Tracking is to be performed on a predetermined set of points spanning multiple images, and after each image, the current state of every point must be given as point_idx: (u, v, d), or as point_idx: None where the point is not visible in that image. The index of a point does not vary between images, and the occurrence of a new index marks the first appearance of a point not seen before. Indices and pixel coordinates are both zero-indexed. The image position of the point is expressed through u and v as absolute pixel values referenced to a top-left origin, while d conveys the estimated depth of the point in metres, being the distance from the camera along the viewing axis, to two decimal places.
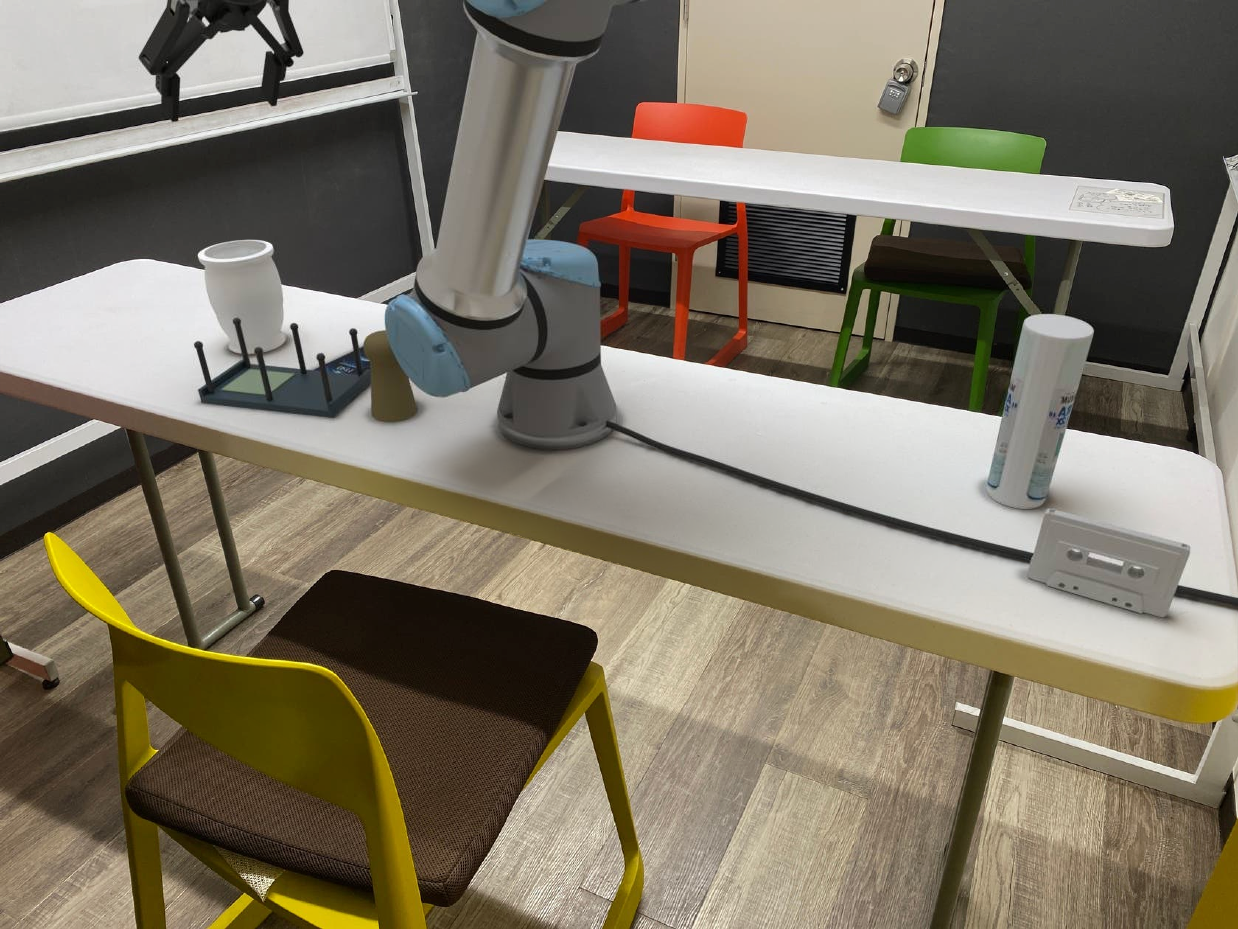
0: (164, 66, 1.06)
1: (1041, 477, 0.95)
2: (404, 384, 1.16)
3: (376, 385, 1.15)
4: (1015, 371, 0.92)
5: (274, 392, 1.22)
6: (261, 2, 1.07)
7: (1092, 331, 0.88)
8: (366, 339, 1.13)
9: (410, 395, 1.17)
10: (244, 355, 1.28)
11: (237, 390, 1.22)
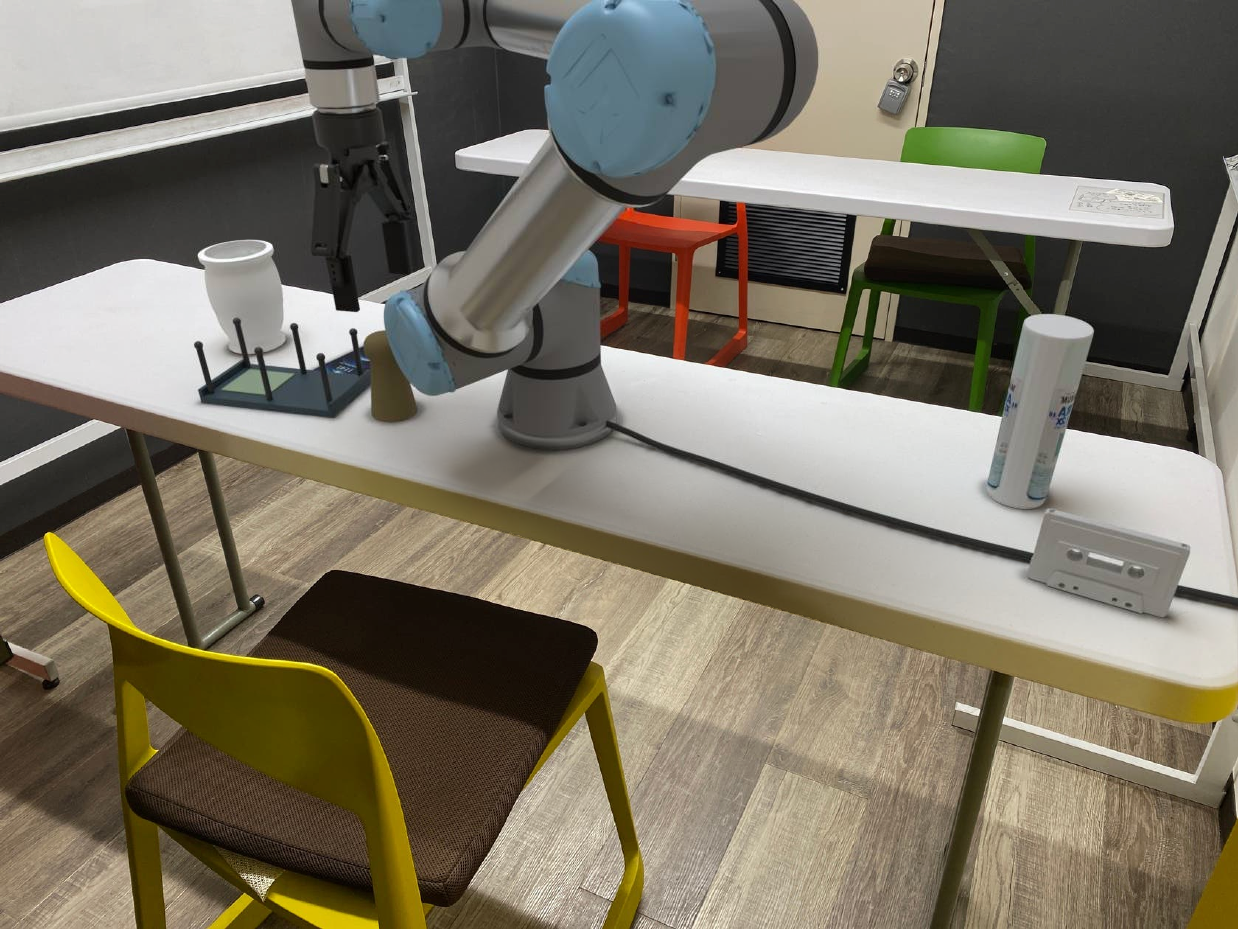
0: None
1: (1041, 477, 0.95)
2: (404, 384, 1.16)
3: (376, 385, 1.15)
4: (1015, 371, 0.92)
5: (274, 392, 1.22)
6: (376, 153, 1.05)
7: (1092, 331, 0.88)
8: (366, 339, 1.13)
9: (410, 395, 1.17)
10: (244, 355, 1.28)
11: (237, 390, 1.22)
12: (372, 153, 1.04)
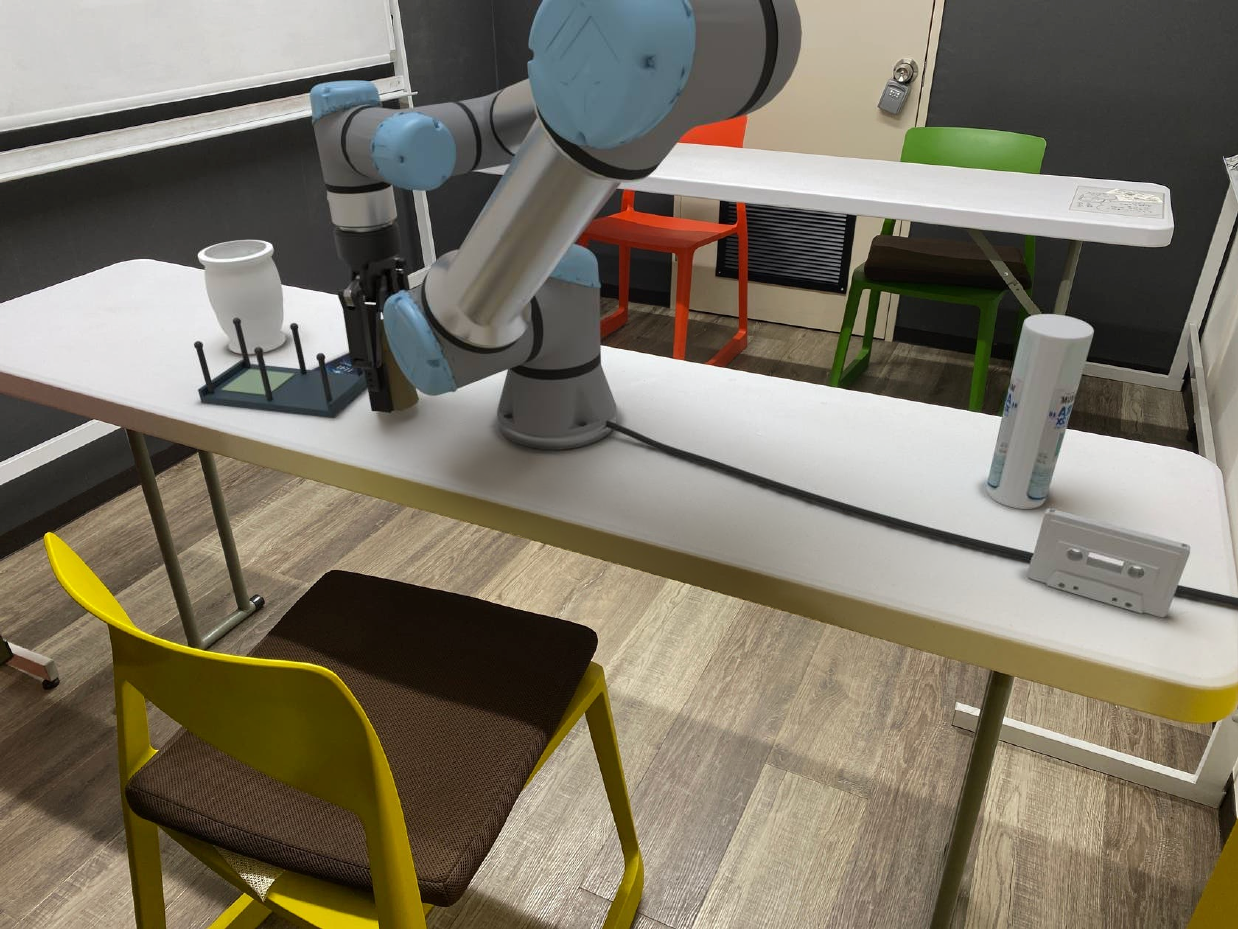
0: (372, 360, 1.10)
1: (1041, 477, 0.95)
2: None
3: None
4: (1015, 371, 0.92)
5: (274, 392, 1.22)
6: (393, 261, 1.11)
7: (1092, 331, 0.88)
8: None
9: (411, 384, 1.16)
10: (244, 355, 1.28)
11: (237, 390, 1.22)
12: (389, 261, 1.11)
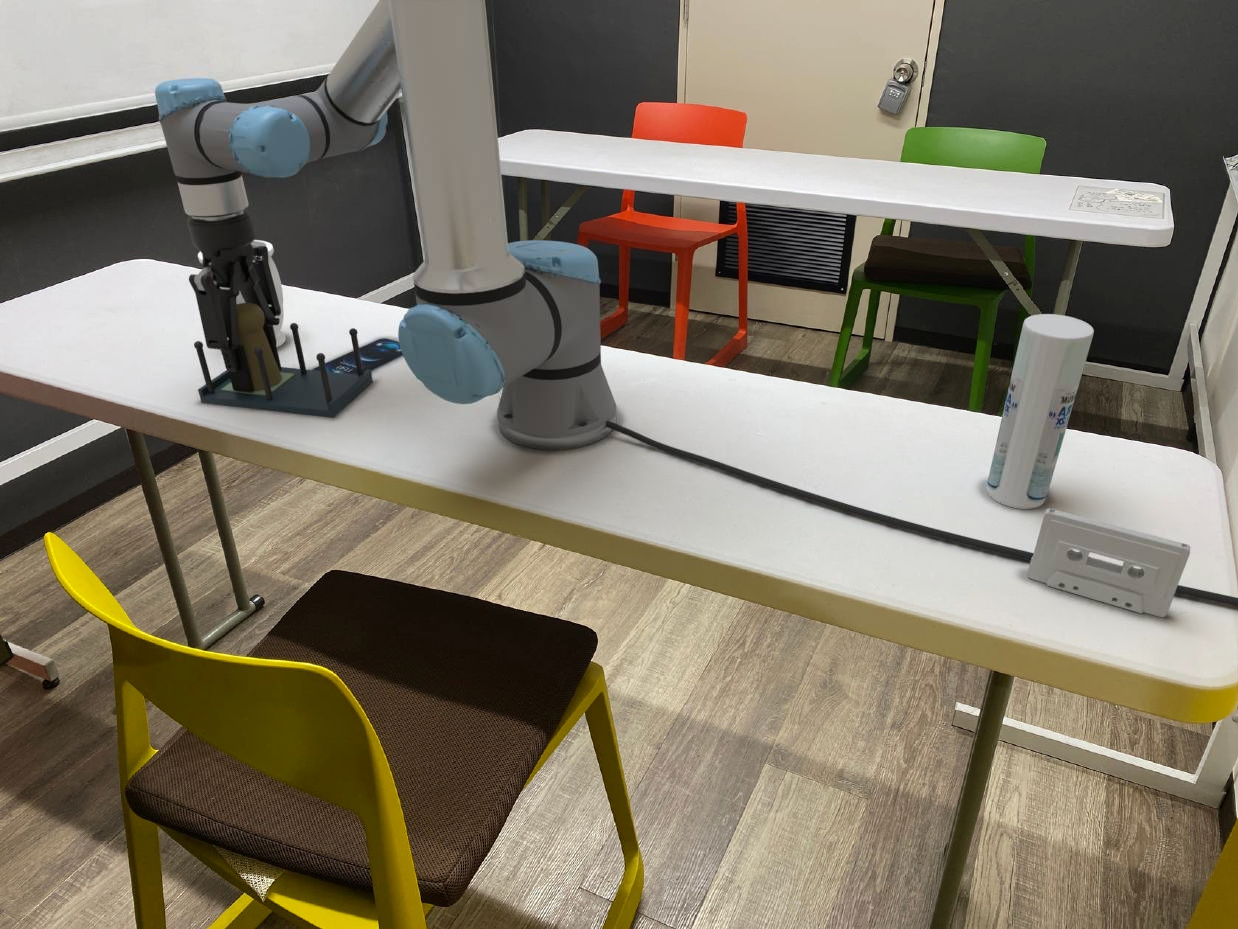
0: (228, 342, 1.16)
1: (1041, 477, 0.95)
2: (264, 354, 1.21)
3: None
4: (1015, 371, 0.92)
5: (274, 392, 1.22)
6: (251, 249, 1.18)
7: (1092, 331, 0.88)
8: None
9: (272, 365, 1.23)
10: None
11: None
12: (245, 249, 1.17)
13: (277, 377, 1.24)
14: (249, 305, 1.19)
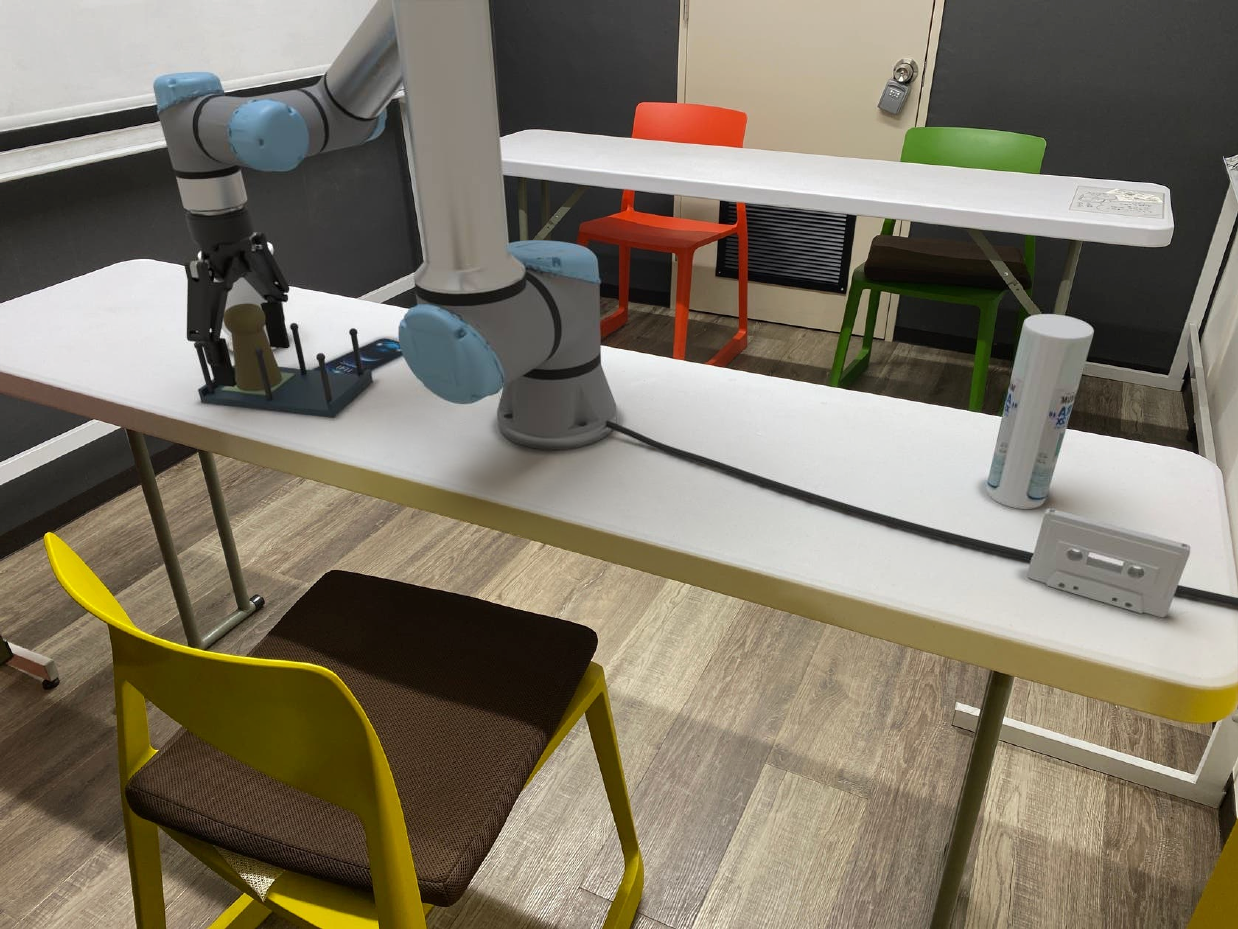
0: (210, 333, 1.13)
1: (1041, 477, 0.95)
2: (265, 354, 1.21)
3: (237, 355, 1.20)
4: (1015, 371, 0.92)
5: (274, 392, 1.22)
6: (249, 243, 1.18)
7: (1092, 331, 0.88)
8: (225, 311, 1.19)
9: (273, 366, 1.23)
10: None
11: (237, 390, 1.22)
12: (244, 244, 1.17)
13: (278, 378, 1.24)
14: (250, 305, 1.19)
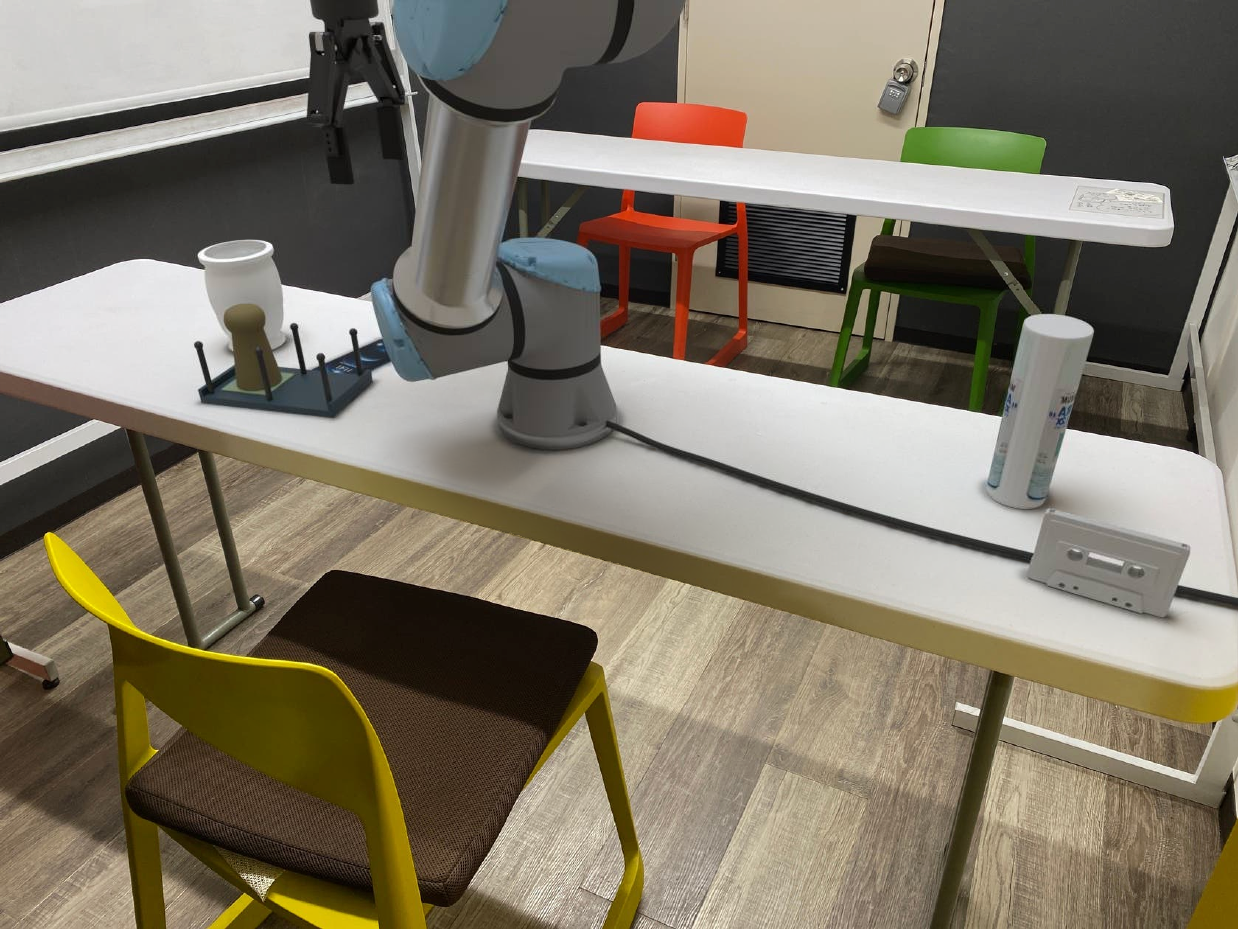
0: None
1: (1041, 477, 0.95)
2: (265, 354, 1.21)
3: (237, 355, 1.20)
4: (1015, 371, 0.92)
5: (274, 392, 1.22)
6: (370, 30, 1.08)
7: (1092, 331, 0.88)
8: (225, 311, 1.19)
9: (273, 366, 1.23)
10: None
11: (237, 390, 1.22)
12: (366, 29, 1.07)
13: (278, 378, 1.24)
14: (250, 305, 1.19)
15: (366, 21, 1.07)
